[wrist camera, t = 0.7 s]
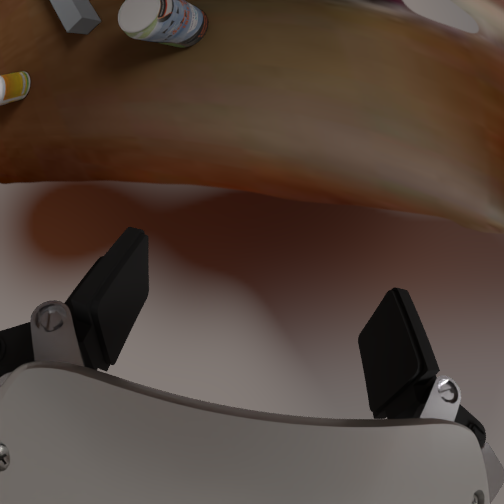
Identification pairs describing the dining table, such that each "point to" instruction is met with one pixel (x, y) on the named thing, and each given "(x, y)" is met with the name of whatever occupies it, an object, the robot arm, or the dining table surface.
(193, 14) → the beverage can
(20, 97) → the supplement bottle
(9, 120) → the dining table surface
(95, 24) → the grey long bar
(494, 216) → the dining table surface
